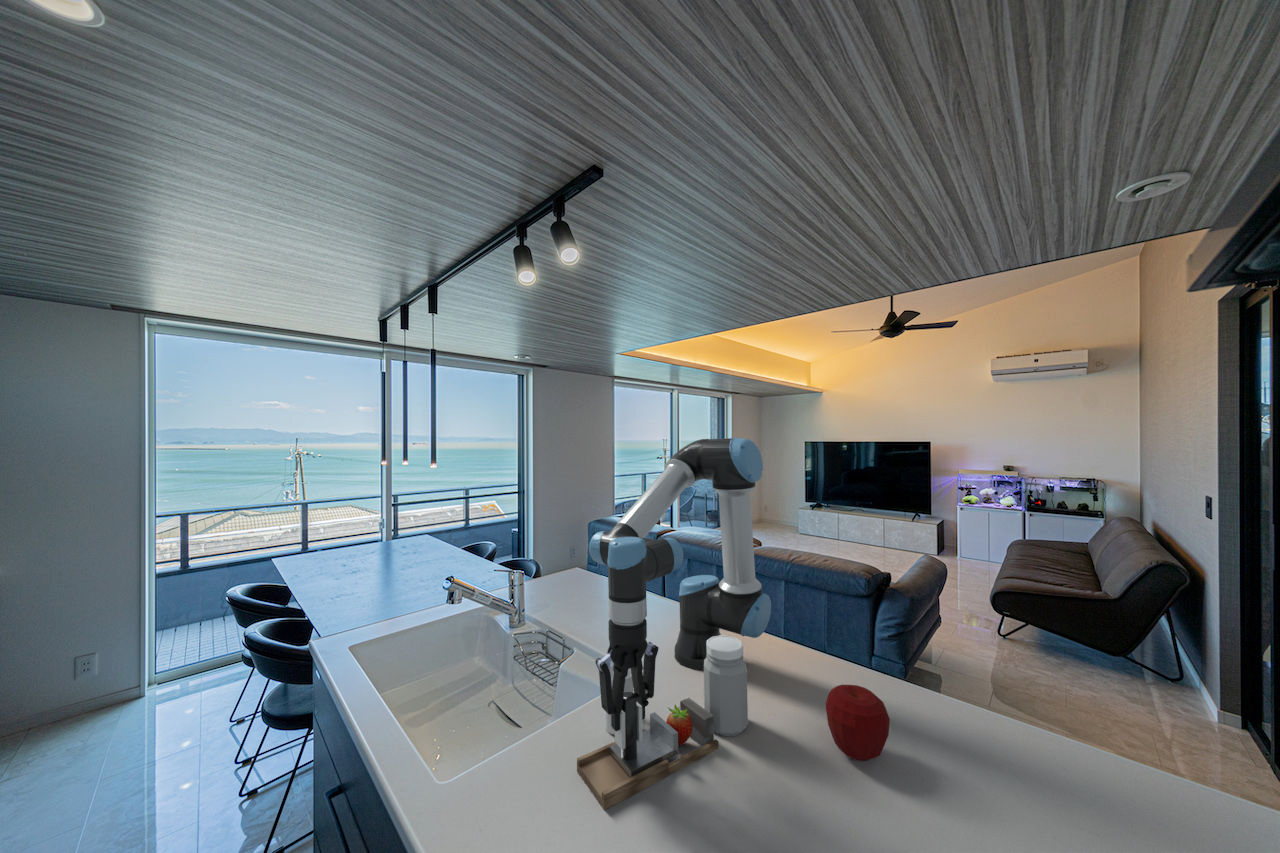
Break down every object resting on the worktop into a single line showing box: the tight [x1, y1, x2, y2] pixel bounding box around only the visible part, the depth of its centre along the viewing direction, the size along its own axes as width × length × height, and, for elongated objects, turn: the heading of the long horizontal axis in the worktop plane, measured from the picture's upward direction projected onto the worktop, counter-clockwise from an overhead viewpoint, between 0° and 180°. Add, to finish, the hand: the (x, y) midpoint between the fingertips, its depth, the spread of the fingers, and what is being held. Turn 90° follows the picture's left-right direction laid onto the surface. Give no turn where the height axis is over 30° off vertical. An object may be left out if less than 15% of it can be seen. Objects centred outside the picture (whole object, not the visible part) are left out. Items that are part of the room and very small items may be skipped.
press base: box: [576, 697, 720, 811], centre depth 88 cm, size 27×11×6 cm, turn 124°
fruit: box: [665, 704, 692, 746], centre depth 92 cm, size 5×5×8 cm
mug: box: [603, 664, 634, 736], centre depth 100 cm, size 10×7×12 cm, turn 160°
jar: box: [703, 634, 749, 737], centre depth 99 cm, size 10×10×18 cm
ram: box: [610, 691, 679, 777], centre depth 87 cm, size 11×8×12 cm
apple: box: [825, 684, 891, 762], centre depth 89 cm, size 12×12×13 cm
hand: (628, 740), depth 85 cm, fingers closed on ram, 3 cm apart
